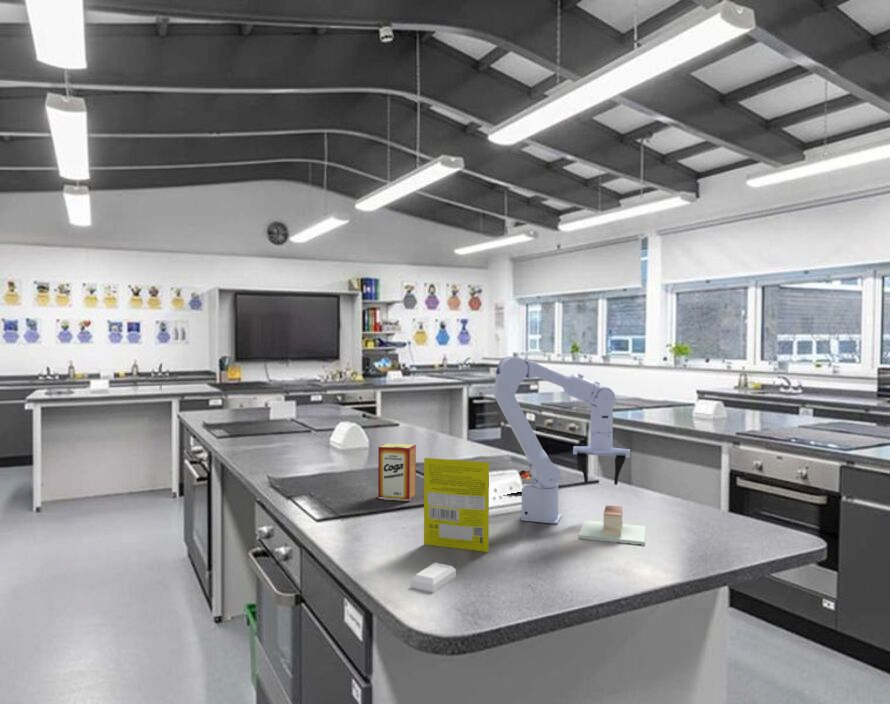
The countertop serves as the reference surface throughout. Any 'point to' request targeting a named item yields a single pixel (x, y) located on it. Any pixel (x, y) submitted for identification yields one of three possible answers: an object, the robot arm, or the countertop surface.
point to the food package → (456, 504)
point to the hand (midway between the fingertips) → (600, 482)
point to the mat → (628, 535)
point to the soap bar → (433, 577)
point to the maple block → (612, 520)
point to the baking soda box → (397, 471)
